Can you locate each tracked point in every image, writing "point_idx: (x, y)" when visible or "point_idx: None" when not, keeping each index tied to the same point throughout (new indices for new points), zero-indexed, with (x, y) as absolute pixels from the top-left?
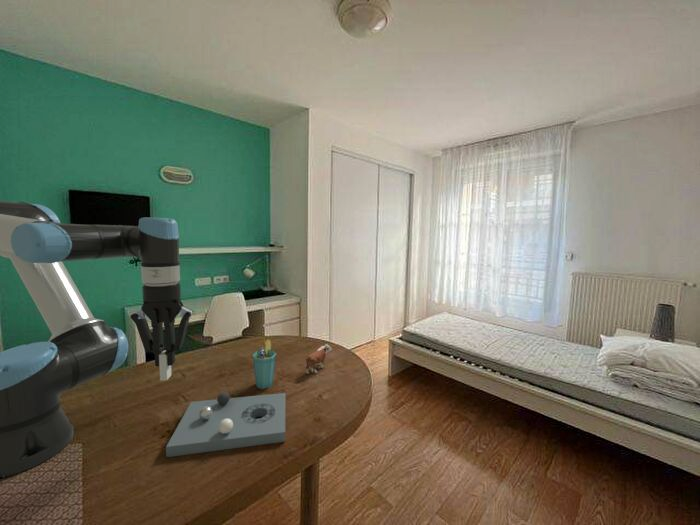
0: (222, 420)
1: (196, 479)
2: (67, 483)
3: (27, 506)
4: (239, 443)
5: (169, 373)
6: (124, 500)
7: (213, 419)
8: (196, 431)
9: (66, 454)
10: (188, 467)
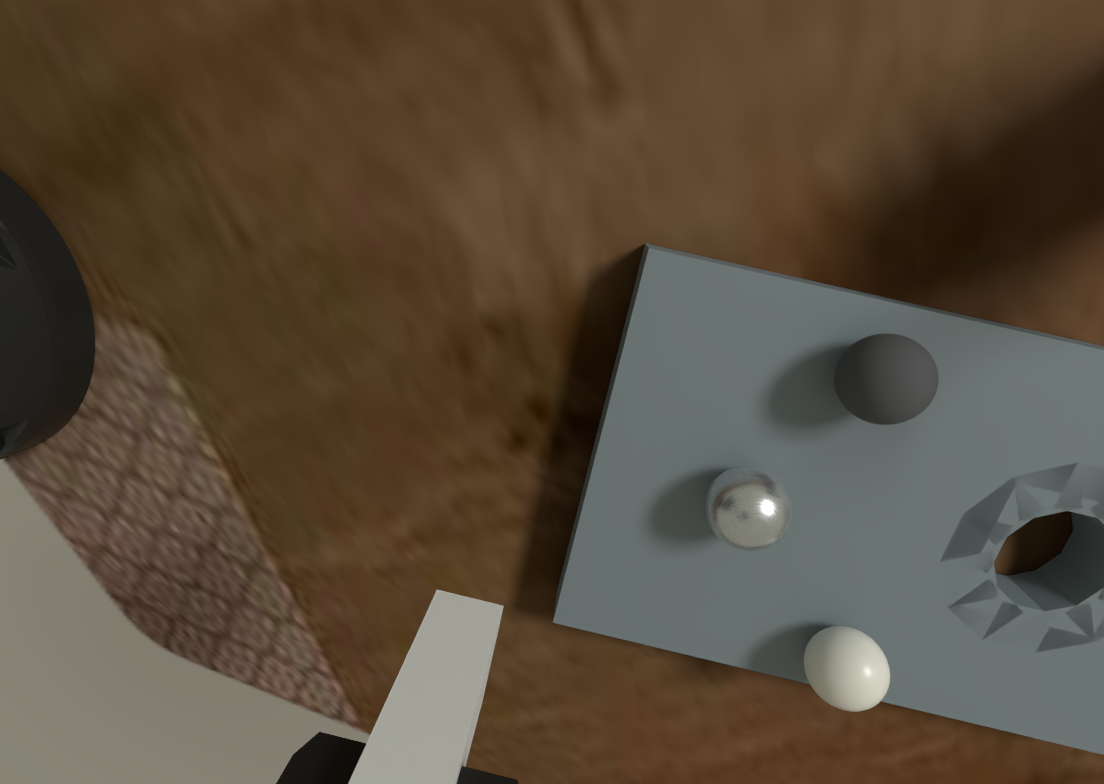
0: (840, 684)
1: (680, 738)
2: (238, 571)
3: (173, 620)
4: None
5: (485, 681)
6: None
7: None
8: (686, 574)
9: (132, 396)
10: (649, 675)
